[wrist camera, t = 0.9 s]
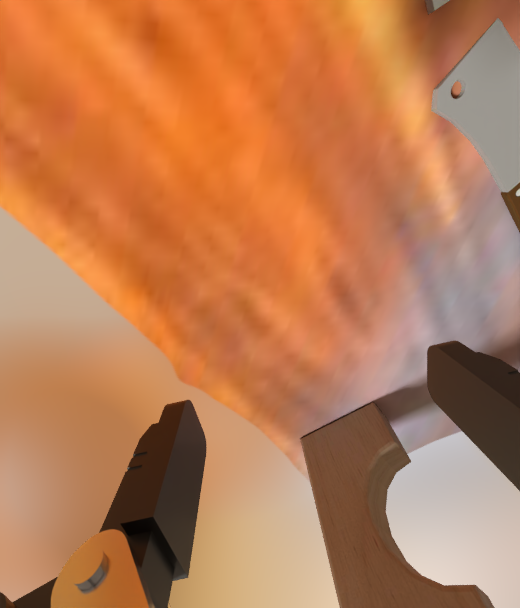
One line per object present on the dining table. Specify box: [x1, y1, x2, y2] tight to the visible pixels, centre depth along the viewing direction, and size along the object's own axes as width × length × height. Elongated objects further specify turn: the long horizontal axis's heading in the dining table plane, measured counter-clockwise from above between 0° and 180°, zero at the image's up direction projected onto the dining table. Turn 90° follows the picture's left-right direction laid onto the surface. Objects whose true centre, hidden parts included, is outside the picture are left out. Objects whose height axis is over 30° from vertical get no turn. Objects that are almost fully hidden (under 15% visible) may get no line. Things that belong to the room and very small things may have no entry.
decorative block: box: [300, 402, 494, 608], centre depth 37 cm, size 15×8×30 cm, turn 126°
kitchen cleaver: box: [431, 18, 520, 232], centre depth 28 cm, size 24×1×10 cm
